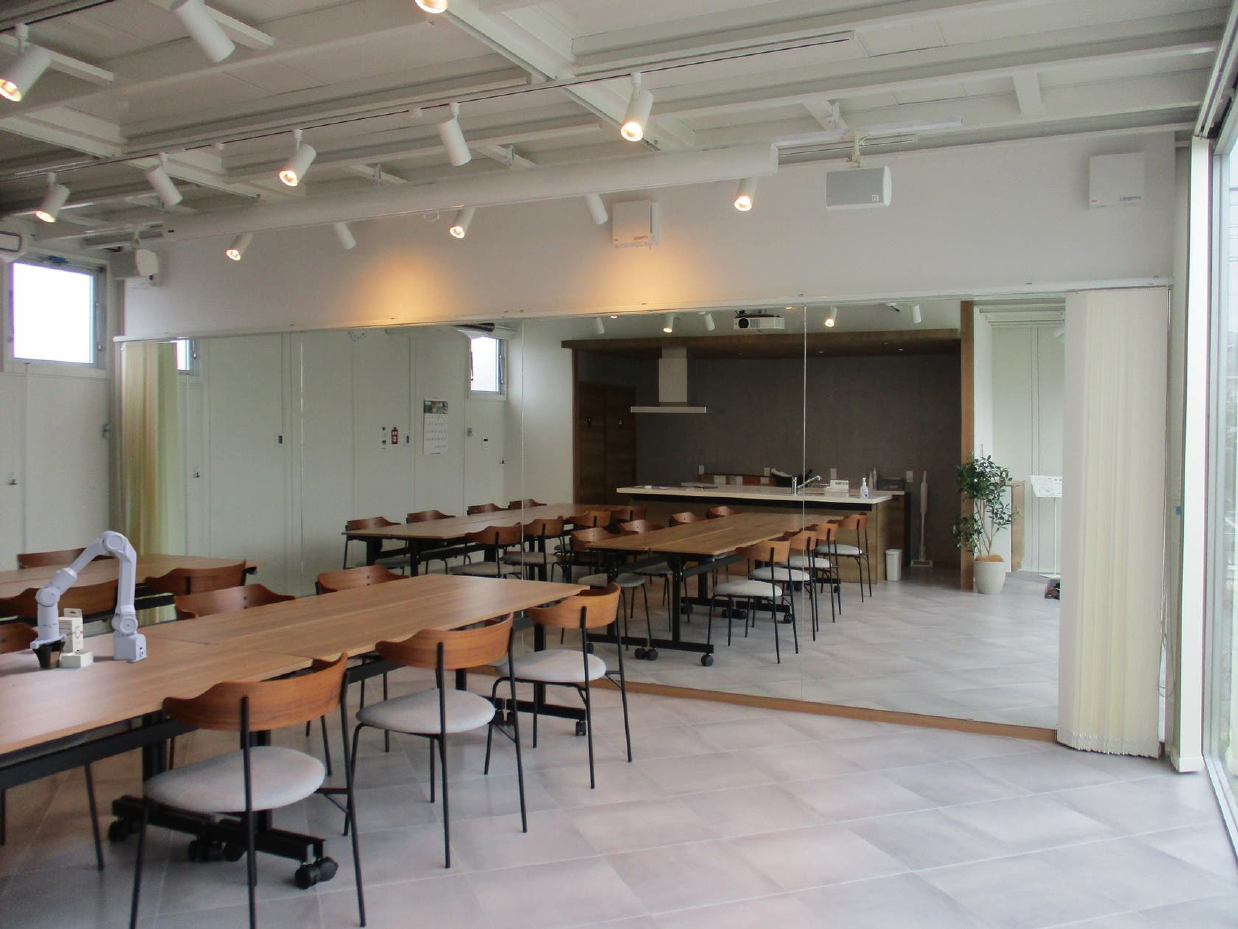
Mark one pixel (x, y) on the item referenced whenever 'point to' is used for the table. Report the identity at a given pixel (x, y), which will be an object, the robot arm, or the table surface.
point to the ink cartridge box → (72, 629)
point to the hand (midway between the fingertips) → (49, 666)
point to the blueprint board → (74, 661)
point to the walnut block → (52, 661)
